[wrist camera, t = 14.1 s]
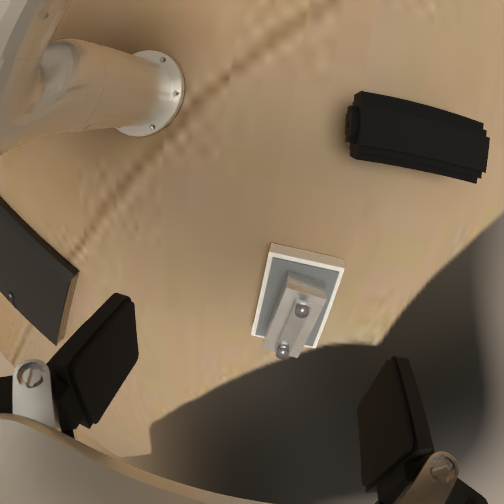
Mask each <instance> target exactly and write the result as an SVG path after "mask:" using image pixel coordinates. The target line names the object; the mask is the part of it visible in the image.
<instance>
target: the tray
mask: <svg viewBox="0 0 504 504" xmlns="http://www.w3.org/2000/svg"><path fill="white" fill-rule="evenodd" d="M344 269H345V268H344V264H343V260H342V259H341V258H337V257H333V256H328V255H324V254H319V253H315V252H310V251H306V250H301V249H297V248H292V247H288V246H283V245H279V244H274V243H271V246H270V250H269V254H268V259H267V264H266V269H265V273H264V278H263V283H262V287H261V292H260V297H259V301H258V306H257V310H256V315H255V320H254V324H253V329H252V333H251V335H253V336H258V337H262V338H264V336H265V331H266V327H267V324H268V322H269V319H270V317H271V314H272V312H273V309H274V306H275V304H276V301H277V299H278V296H279V293H280V291H281V288H282V286H283V283H284V280H285V278H286V275H287V272H288V270H291V271H294V272H297V273H301V274H304V275H307V276H310V277H313V278H316V279H320V280H323V281H325V288H326V298H327V300H326V302H325V304H324V306H323V308H322V311H321V313H320V315H319V317H318V319H317V321H316V323H315V325H314V327H313V329H312V331H311V333H310V335H309V337H308V339H307V341H306V343H305V345H304V346H305V347H311V348H316V346H317V343H318V341H319V338H320V335H321V333H322V330H323V328H324V325H325V322H326V320H327V317H328V314H329V312H330V309H331V306H332V304H333V301H334V298H335V295H336V292H337V289H338V287H339V284H340V281H341V278H342V275H343V272H344Z"/></svg>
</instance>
